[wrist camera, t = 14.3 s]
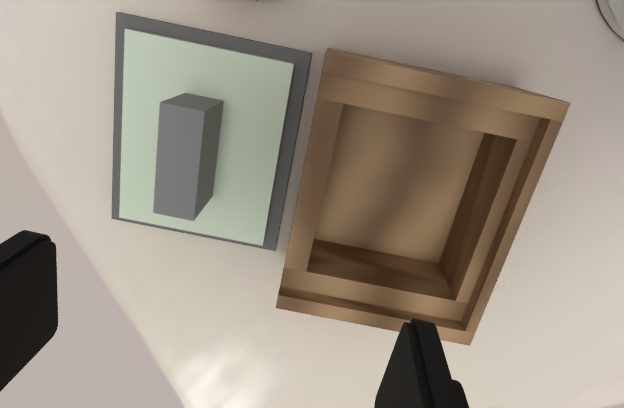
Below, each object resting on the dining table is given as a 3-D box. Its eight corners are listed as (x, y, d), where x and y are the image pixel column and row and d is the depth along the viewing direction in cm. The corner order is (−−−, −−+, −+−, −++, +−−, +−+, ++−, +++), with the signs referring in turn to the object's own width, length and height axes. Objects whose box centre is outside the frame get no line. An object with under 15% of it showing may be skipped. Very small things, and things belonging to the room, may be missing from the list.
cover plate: (125, 212, 33) (87, 244, 28) (131, 29, 28) (86, 27, 23) (264, 239, 33) (252, 276, 28) (295, 63, 28) (286, 69, 23)
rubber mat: (119, 12, 28) (116, 12, 28) (311, 52, 29) (311, 53, 28) (114, 216, 34) (111, 218, 33) (275, 248, 34) (275, 250, 34)
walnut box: (286, 256, 34) (275, 307, 28) (327, 48, 28) (325, 51, 22) (444, 287, 35) (469, 345, 28) (517, 87, 29) (570, 103, 22)
